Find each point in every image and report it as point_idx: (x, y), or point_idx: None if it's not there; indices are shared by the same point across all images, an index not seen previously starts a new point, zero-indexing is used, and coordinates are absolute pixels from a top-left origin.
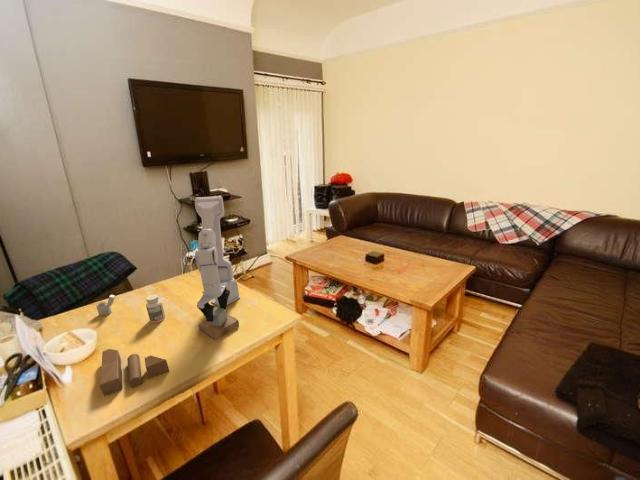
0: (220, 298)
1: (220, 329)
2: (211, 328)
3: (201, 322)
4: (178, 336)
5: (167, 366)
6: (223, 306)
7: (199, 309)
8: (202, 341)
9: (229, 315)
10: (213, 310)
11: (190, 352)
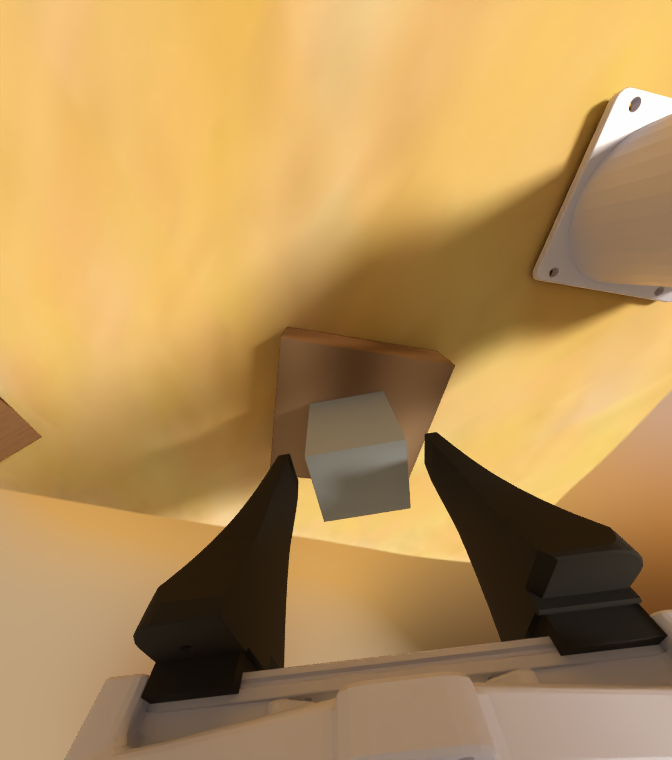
0: (479, 528)
1: (309, 473)
2: (292, 434)
3: (304, 342)
4: (172, 258)
5: (8, 454)
6: (436, 477)
7: (191, 562)
8: (236, 411)
9: (426, 432)
10: (362, 460)
11: (158, 422)
